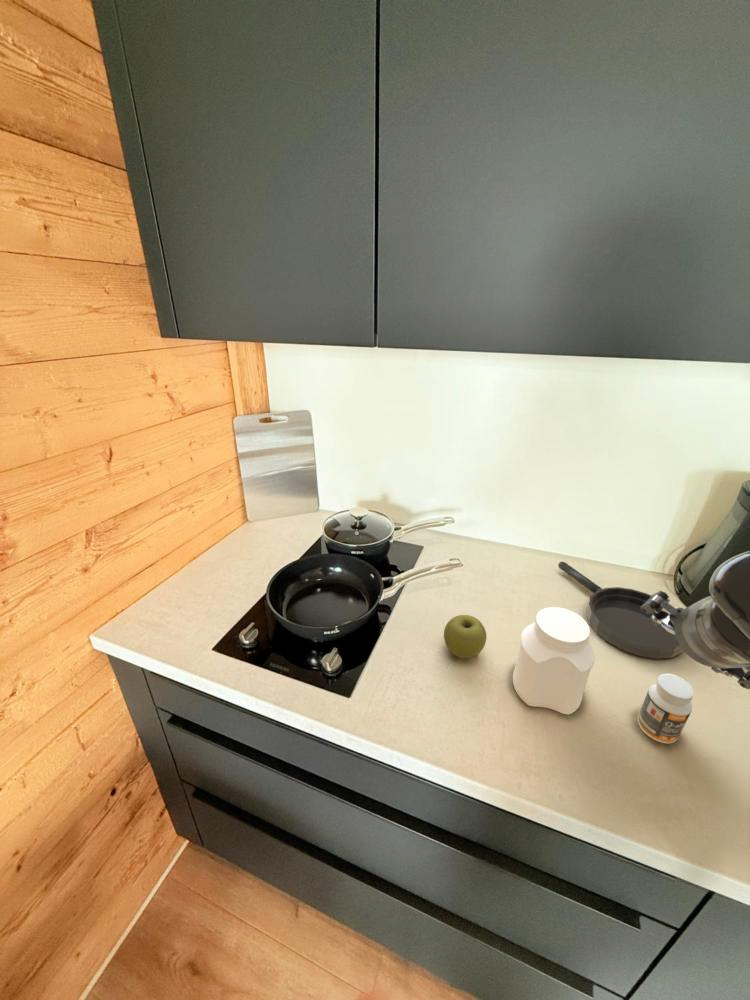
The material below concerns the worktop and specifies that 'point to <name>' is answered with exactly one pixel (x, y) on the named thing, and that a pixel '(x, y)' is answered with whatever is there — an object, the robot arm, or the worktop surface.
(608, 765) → the worktop surface
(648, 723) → the pill bottle
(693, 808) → the worktop surface
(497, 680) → the worktop surface
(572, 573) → the pan handle
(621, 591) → the pan
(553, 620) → the jar
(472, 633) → the apple
